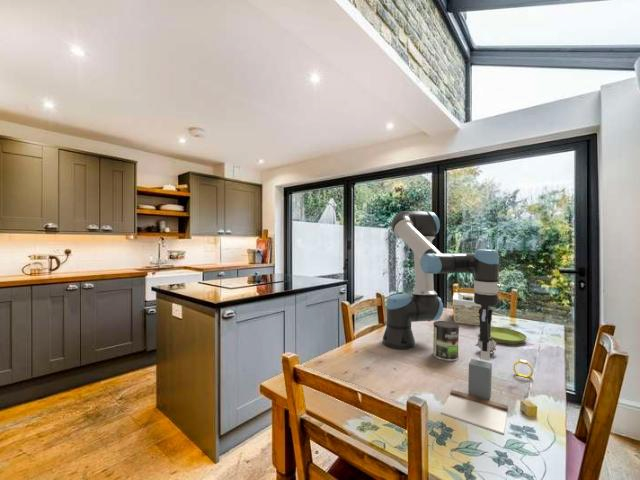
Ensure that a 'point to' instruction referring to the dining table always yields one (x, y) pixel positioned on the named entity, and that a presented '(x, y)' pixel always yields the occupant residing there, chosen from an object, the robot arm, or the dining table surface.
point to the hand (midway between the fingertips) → (485, 359)
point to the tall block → (480, 379)
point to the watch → (523, 363)
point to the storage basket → (465, 309)
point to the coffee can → (446, 340)
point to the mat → (475, 413)
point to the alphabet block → (528, 408)
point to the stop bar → (479, 400)
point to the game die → (492, 345)
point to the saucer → (507, 335)
